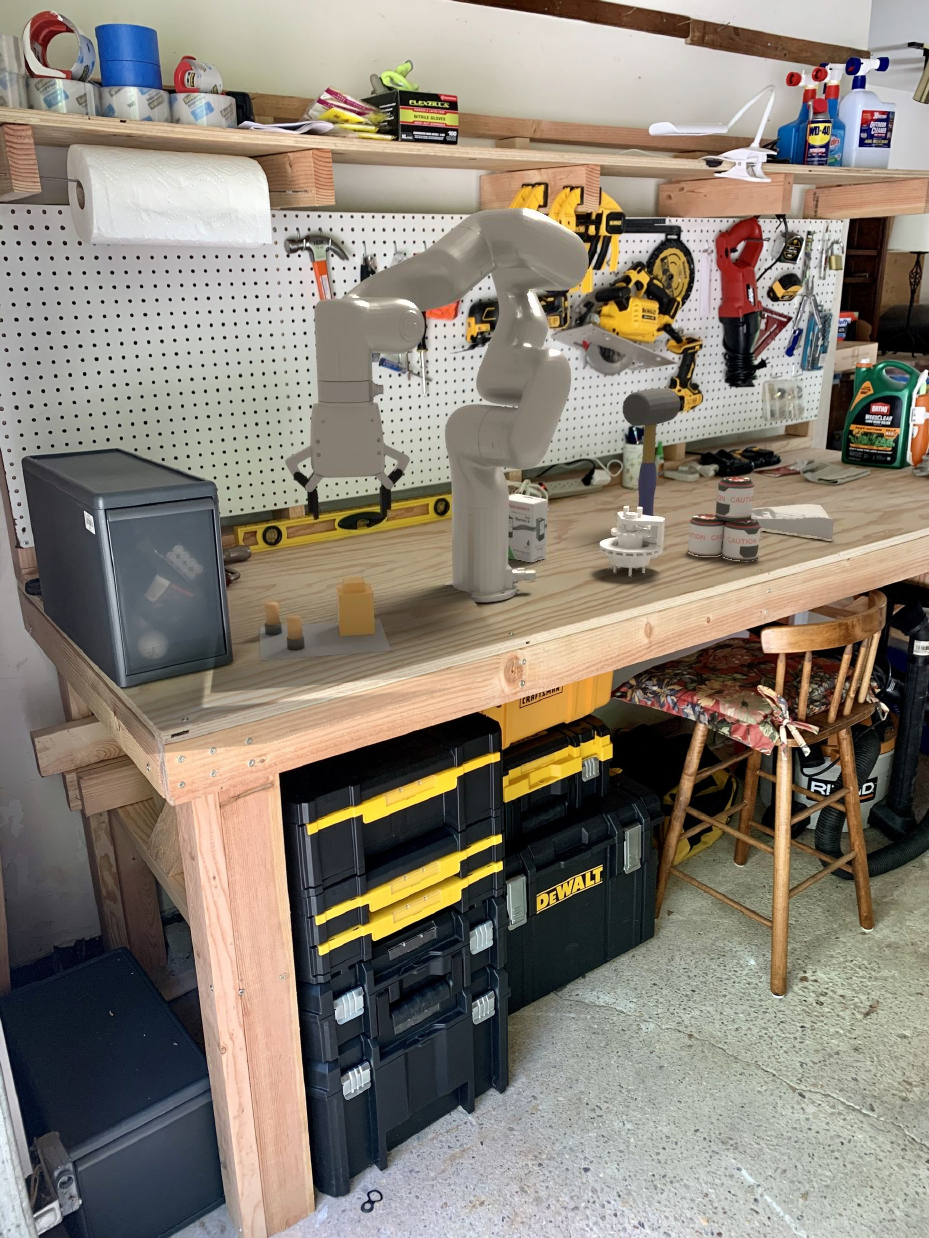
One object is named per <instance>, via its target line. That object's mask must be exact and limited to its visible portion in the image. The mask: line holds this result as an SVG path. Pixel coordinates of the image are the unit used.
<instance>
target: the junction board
mask: <svg viewBox="0 0 929 1238" xmlns="http://www.w3.org/2000/svg"><path fill="white" fill-rule="evenodd" d="M264 613H265V615H264V616H265V622H264V626H261V627H259V661H274V660H275V661H276V660H287V659H301V658H303V659H304V658H314V657H330V656H340V655H341V656H342V655H354V654H357V655H358V654H366V653H369V654H370V653H380V652H392V651H393V650H392V648H391V646H390V643H389V640H388V637H387V635H386V634H387V633H386V632H385V629H384V627H383V623H382V621H381V619H380V618H379V619H375V618H374V625H375V634H364V635H350V636H340V632H339V628H338V621H332V622H317V623H303V622H302V620H303V619H302V616H301V615H299V614H291V615H288V616H287V617H286V625H282V622H281V619H280V605H279V602H277V601H267V602H265V603H264Z"/></svg>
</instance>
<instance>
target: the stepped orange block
mask: <svg viewBox="0 0 929 1238" xmlns="http://www.w3.org/2000/svg"><path fill="white" fill-rule="evenodd" d="M335 591H336V592H335V593H336V595H335V596H336V610H337V611H336V612H337V613H336V614H337V622H338V628H339V632H340V636H350V635H364V634H375V625H374V619H375V605H374V603H375V602H374V601H375V599H374V592H373V589H372V587H371V583H366V580H365V578H364V576H353V577H343V578H342V584H340V585H339V584H338V585H335Z"/></svg>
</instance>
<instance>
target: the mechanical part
mask: <svg viewBox="0 0 929 1238" xmlns="http://www.w3.org/2000/svg"><path fill="white" fill-rule="evenodd" d="M642 509H643V507H638V506H637V508H636V512H632V511H630V506H629V505H625V506H623V509H622V510H623V511H619V512H616V527H612V528H611V529H610V534H611V535H612V536H613V537H610V538H606V539H603V540H601V541H600V542H599V552H601V553H602V554H604V555H606V556H608V563H609V564H610V565H612V566H613V571H612V573H613V572H616V573H617V567H620V568H628V576H629V575H630V576H631V575H633V573H632V572H633V569H635V568H639V569H640V568H641V574H642V573H645V574H646V567H647V566H649V564H650V562H651V561H650V560H653V559H657V557H658V556H660V555H663V552H664V541H665V523H666V518H664V517H662V516H656V515H655V516H654V515H653V516H647V515H642ZM629 511H630V512H629ZM631 577H632V576H631Z"/></svg>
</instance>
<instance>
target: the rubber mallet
mask: <svg viewBox="0 0 929 1238" xmlns="http://www.w3.org/2000/svg"><path fill="white" fill-rule="evenodd" d="M680 409H681V400H680V397H679V395H678V394H677V393H676V391H674V390H672V389H671V388H666V387H665V388H663V387H661V388H658V387H657V388H646V389H642V390H639V391H634V392H631V393H630V394H628V395H627V397H625V399H624V401H623V403H622V415H623V418H624V419H625V420H626V422H627V423H629V424H630V425H632V426H635V427H641V426H642V427H643V426H644V428H643V442H642V459H641V464H640V466H639V467H640V468H639V474H638V483H637V488H638V506H637V508H638V507H643V509H642V515H647V516H654V508H655V507H654V506H655V505H654V504H655V494H656V488H657V465H656V462H655V459H656V458H655V457H656V455H655V454H656V438H657V431H656V430H657V425H659V424H660V425H661V424H663V423H666V422H669V421H672V420H674V419H675V418H676V417H677V416H678V414H679V412H680Z"/></svg>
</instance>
